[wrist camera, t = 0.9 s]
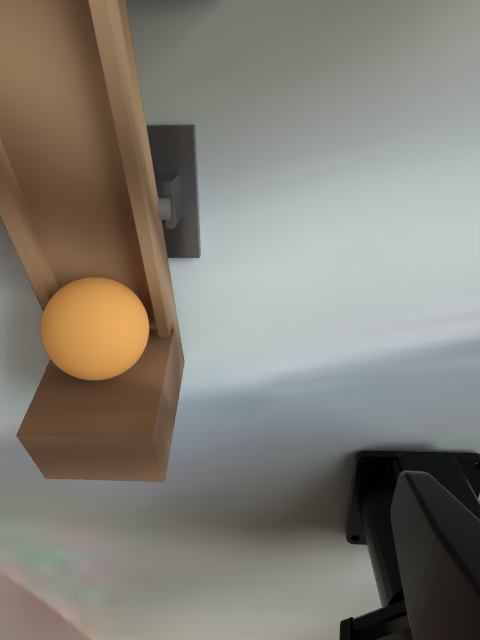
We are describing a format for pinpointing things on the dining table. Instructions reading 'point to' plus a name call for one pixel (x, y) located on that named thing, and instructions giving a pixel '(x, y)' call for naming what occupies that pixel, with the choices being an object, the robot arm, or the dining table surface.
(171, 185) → the fulcrum
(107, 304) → the ball
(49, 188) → the brown wooden ramp
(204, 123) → the dining table surface
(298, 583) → the dining table surface
